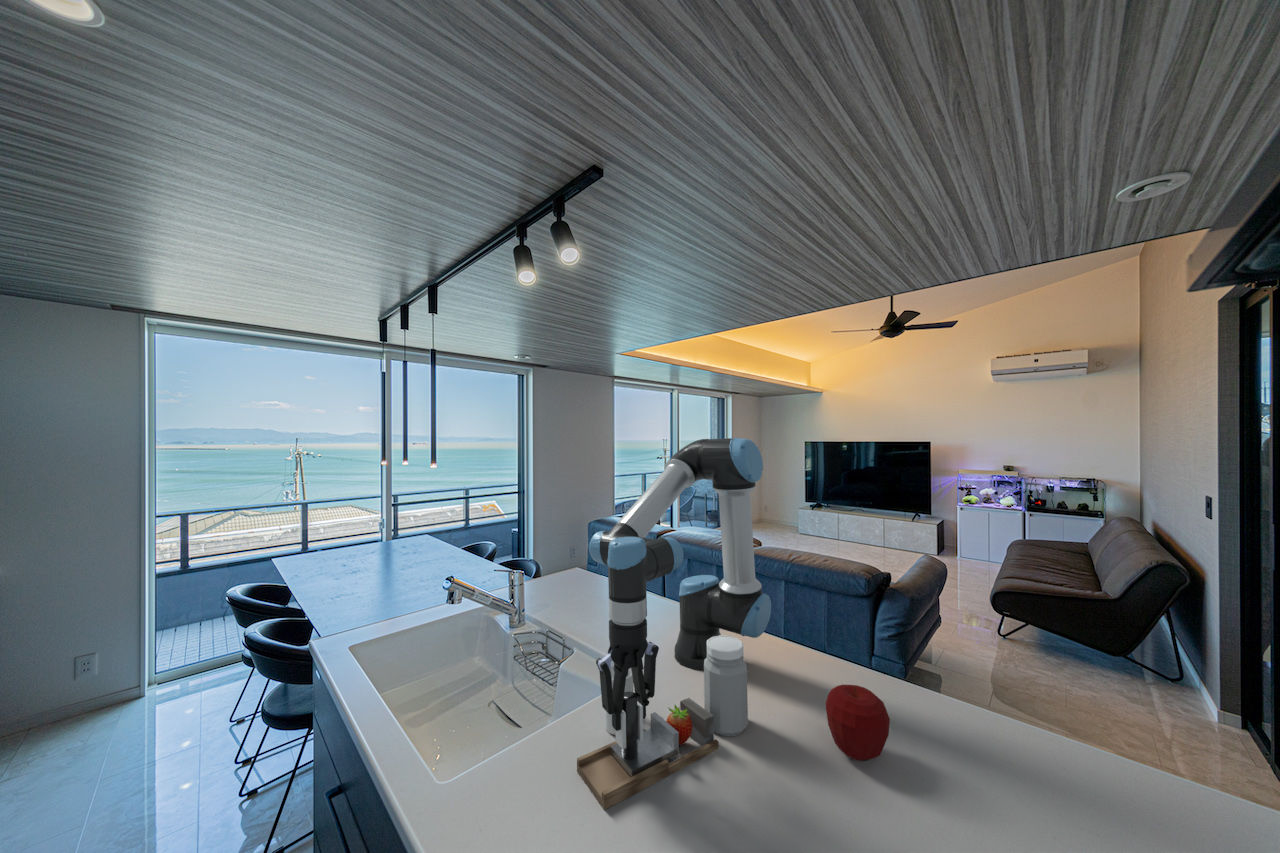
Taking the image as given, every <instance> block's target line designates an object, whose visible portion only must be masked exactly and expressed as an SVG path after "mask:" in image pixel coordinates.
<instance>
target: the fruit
mask: <svg viewBox="0 0 1280 853" xmlns="http://www.w3.org/2000/svg"><path fill="white" fill-rule="evenodd" d="M667 708H668V710H669V711H670V713H669V715H668V716H667V718H666V722H667V723H668V724H670V725H671V726H672V727H673V728H674V729H675V730H677V731H678V732H679V746H682V745H684V744H685V743H687V742H688V740H689V739H690V738H691V737H690V735H691V733H692V720H691V718H690V716H689V714H690V713H687V710H688V709H686V710H684V711H682V710H680V707H679V706H677V705H676V704H674V709H672V708H670V707H667Z"/></svg>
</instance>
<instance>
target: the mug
mask: <svg viewBox="0 0 1280 853" xmlns="http://www.w3.org/2000/svg"><path fill="white" fill-rule="evenodd" d="M610 672H611V678H612V689H613V681H614V664H611V669H610ZM625 692H634V683H633V677H632V671H631V668H630V669H629V670H628V676H627V677H626V682H625V691H624V693H625ZM603 710H604V728H605V731H606V732H607V733H609V734H611V735H613V736H616V730H615V729H614V728H613V726H612V714H611V715H610V714H609V713H608V712H607V711H606V710H605V709H604V708H603Z"/></svg>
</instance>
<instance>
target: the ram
mask: <svg viewBox="0 0 1280 853" xmlns="http://www.w3.org/2000/svg"><path fill="white" fill-rule="evenodd" d="M622 710H623V711H624V712H625V713H626V748H625V749H622V748H621V747H620V746H619V745H618V744H615V745H612V746H610V753H611V754H612V755H613V756H614V757H615V758H616V760H617V761H618V762H619V763H620V764H621V765H622V767H623V768H624V769H625V770H626V771H627V772H628V774H629V775H630V776H631V777H632V776H634V775H636V774H638V773H640V772H642V771H644V770H646V769H648V768H650V767H652V766H654V765H656V764H658V763H660V762H662V761H664V760H667V761H668V760H670V759H671V758H674V757H676V756H678V755H680V750H679V749H680V748H679V746H680V745H679V732H678V731H677V730H675V729H674V728H673V727H672V726H671V725H670V724H668V723H667V720H666V719H664V718H663V717H662V716H660V715H659V714H658V713H657V712H656V711H654V712H652V713H650V728H648V729H645V730H643V740H642V741H639V740H638V726H637V694H636V693H635V691H633V692H625V693H624V699H623V708H622Z"/></svg>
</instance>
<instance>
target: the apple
mask: <svg viewBox="0 0 1280 853" xmlns="http://www.w3.org/2000/svg"><path fill="white" fill-rule="evenodd" d="M825 711H826V719H827V724H828V727H829V730H830V733H831V736H832V738H833V741H834V743H835V746H836V747H837V748H838V749H839V751H841V753H843V754H844V755H845V756H846V757H848V758H850V759H851V760H854V761H857V762H865V761H869V760H872V759H875V758H878V757H880V756H881V754H882V753H883V751H884V748H885V745H886V743H887V740H888V738H889V734H890V733H889V732H890V723H891V719H890V718H891V717H890V716H889V714H888V711H887V708H886V706H885V703H884V701H882V700H881V699H880V698H879V696H877V695H876V694H875V693H874V692H873V691H872V690H869V689H868V688H866V687H863V686H860V685H857V684H856V685H855V684H839V685H837V686H835V687H833V688H831V689H830V691H829V692H828V693H827V698H826V699H825Z"/></svg>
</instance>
